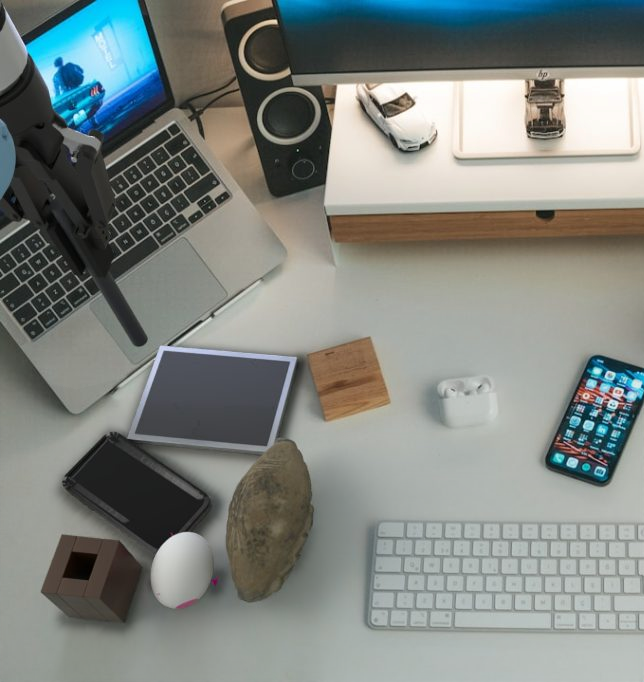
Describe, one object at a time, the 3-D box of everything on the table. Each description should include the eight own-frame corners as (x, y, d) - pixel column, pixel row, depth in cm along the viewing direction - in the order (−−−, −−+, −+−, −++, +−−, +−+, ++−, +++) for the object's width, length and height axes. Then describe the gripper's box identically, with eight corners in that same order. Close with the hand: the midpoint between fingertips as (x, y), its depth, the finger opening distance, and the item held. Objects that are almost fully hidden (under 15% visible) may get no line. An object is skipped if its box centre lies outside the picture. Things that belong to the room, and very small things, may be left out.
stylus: (132, 349, 111) (46, 210, 92) (136, 336, 111) (52, 195, 93) (147, 350, 110) (64, 211, 92) (151, 337, 111) (70, 197, 93)
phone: (111, 427, 117) (213, 498, 111) (115, 432, 117) (216, 503, 112) (56, 483, 113) (159, 558, 108) (60, 488, 114) (162, 563, 109)
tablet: (129, 442, 117) (126, 438, 116) (162, 348, 123) (159, 344, 123) (273, 456, 115) (271, 452, 115) (298, 360, 122) (297, 356, 121)
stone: (310, 615, 106) (294, 585, 99) (221, 614, 106) (198, 584, 99) (330, 459, 115) (316, 422, 108) (248, 458, 115) (229, 422, 109)
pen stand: (68, 617, 106) (39, 592, 101) (88, 561, 110) (61, 533, 104) (124, 623, 106) (99, 598, 100) (143, 567, 109) (119, 540, 103)
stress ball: (188, 558, 113) (135, 535, 109) (240, 541, 109) (188, 516, 104) (172, 629, 108) (117, 608, 104) (226, 613, 104) (171, 590, 100)
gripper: (91, 42, 81) (182, 238, 101) (-92, 31, 83) (34, 227, 102) (56, 114, 77) (158, 304, 97) (-136, 102, 79) (4, 291, 98)
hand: (94, 264), depth 100 cm, fingers closed on stylus, 1 cm apart
